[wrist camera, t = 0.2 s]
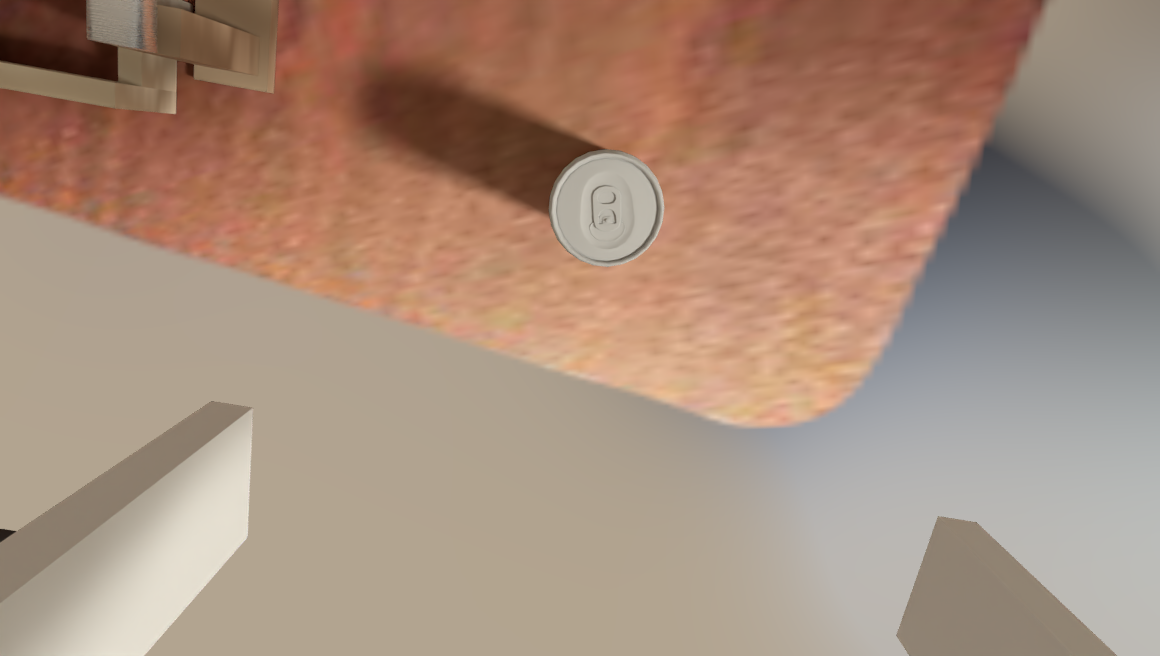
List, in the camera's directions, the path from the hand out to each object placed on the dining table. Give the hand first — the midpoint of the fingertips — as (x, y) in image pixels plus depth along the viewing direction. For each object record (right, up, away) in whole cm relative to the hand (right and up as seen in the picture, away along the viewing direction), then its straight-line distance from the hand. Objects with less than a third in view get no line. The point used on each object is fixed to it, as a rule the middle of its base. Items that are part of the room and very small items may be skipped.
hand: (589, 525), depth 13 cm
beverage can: (+1, +12, +26) cm, 28 cm away
